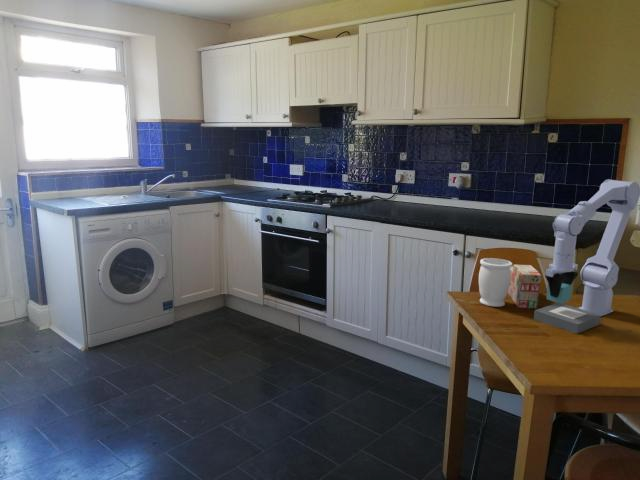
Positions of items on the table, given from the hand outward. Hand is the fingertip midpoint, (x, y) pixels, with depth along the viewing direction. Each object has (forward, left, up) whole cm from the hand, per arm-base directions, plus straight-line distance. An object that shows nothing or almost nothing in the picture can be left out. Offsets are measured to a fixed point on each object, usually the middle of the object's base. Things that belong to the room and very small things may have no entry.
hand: (559, 295), depth 159 cm
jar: (+4, -21, -9) cm, 23 cm away
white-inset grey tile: (-1, +3, -8) cm, 9 cm away
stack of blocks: (-9, -19, -9) cm, 23 cm away
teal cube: (0, 0, -2) cm, 2 cm away
